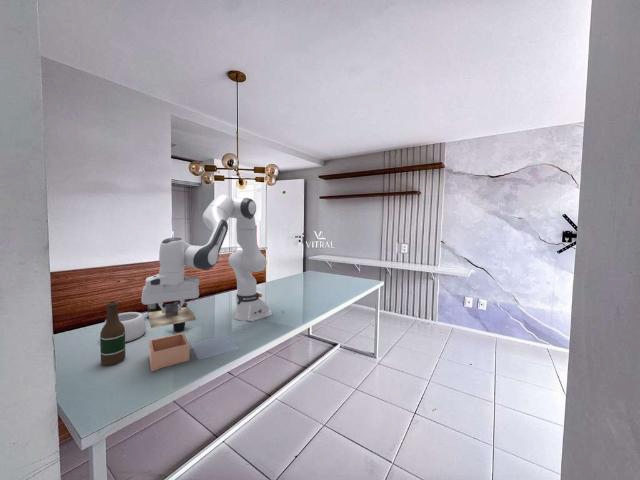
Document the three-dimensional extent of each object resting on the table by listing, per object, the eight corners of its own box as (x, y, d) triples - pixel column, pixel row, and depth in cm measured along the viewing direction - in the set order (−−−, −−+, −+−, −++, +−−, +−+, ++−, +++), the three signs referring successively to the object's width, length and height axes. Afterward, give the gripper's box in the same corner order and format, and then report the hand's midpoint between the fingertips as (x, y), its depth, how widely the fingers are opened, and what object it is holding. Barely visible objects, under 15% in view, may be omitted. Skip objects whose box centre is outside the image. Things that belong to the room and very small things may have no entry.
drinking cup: (180, 334, 128) (180, 294, 126) (167, 332, 129) (166, 293, 128) (190, 327, 135) (190, 290, 134) (178, 326, 137) (178, 289, 135)
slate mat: (227, 335, 128) (227, 334, 128) (239, 349, 114) (239, 348, 114) (190, 344, 118) (190, 343, 118) (198, 361, 104) (198, 360, 104)
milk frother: (143, 318, 146) (142, 292, 145) (168, 309, 160) (167, 286, 159) (161, 322, 141) (160, 296, 140) (185, 313, 156) (185, 289, 154)
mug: (110, 331, 127) (110, 312, 127) (149, 328, 133) (149, 309, 133) (90, 353, 107) (89, 329, 107) (137, 347, 113) (136, 325, 113)
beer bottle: (127, 361, 102) (126, 302, 101) (102, 369, 97) (101, 307, 95) (123, 354, 107) (122, 298, 106) (99, 361, 102) (97, 302, 100)
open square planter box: (183, 348, 114) (183, 332, 114) (189, 361, 104) (189, 344, 103) (148, 356, 106) (148, 340, 106) (151, 371, 96) (151, 353, 95)
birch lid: (188, 309, 115) (188, 298, 114) (195, 320, 103) (195, 307, 102) (148, 315, 105) (148, 303, 105) (151, 327, 94) (151, 313, 93)
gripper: (197, 274, 112) (197, 305, 113) (141, 278, 100) (141, 313, 100) (201, 277, 107) (200, 309, 108) (142, 282, 95) (142, 318, 95)
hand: (171, 311), depth 104 cm, fingers closed on birch lid, 4 cm apart
